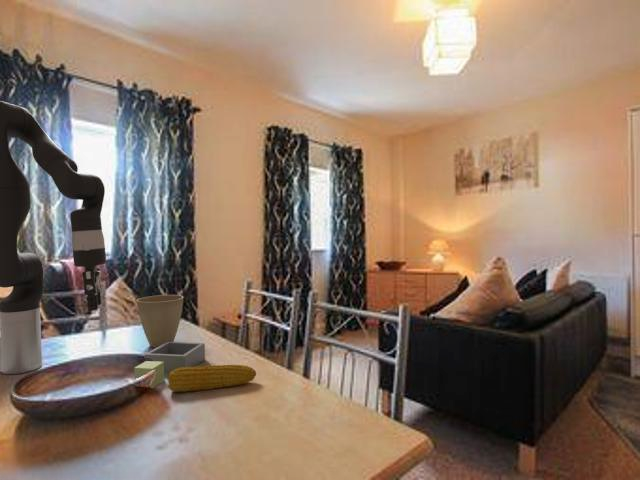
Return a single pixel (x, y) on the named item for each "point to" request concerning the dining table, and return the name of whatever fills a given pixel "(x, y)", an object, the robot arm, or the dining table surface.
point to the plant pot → (160, 317)
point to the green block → (150, 366)
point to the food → (209, 377)
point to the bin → (178, 355)
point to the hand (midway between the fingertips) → (95, 307)
